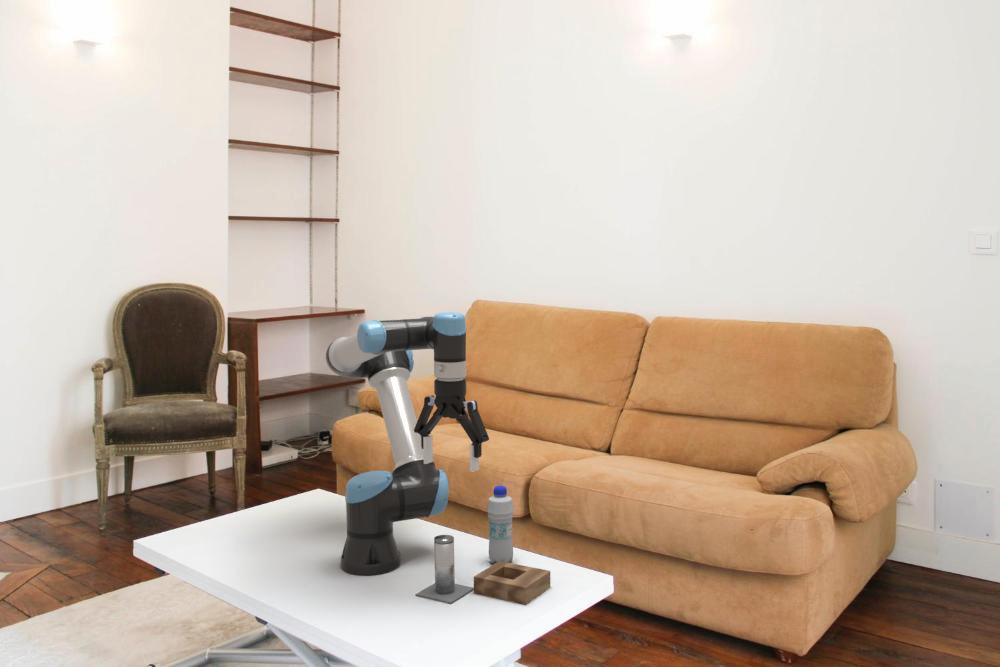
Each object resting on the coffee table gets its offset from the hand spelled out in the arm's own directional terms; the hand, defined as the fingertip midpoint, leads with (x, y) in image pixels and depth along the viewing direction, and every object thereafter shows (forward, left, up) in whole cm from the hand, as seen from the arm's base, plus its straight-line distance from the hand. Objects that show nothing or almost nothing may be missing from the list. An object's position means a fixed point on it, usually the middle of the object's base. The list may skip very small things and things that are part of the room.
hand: (451, 466), depth 218 cm
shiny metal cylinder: (+1, -6, -28) cm, 29 cm away
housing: (+15, +3, -29) cm, 32 cm away
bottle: (+3, +18, -29) cm, 34 cm away
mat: (+2, -6, -29) cm, 29 cm away
